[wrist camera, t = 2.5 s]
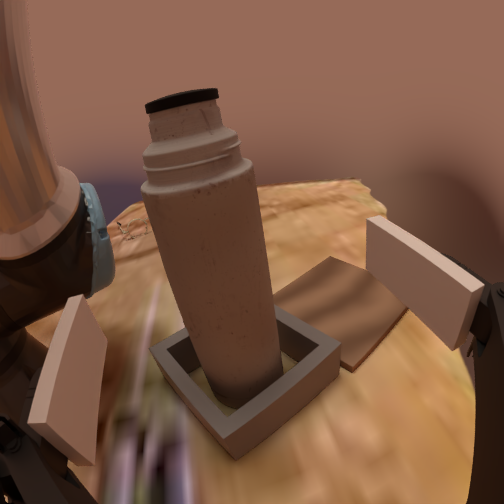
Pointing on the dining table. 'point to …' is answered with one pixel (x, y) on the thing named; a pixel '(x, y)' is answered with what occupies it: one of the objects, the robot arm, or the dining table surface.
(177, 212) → the thermos bottle
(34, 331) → the dining table surface
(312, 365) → the collar
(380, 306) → the board
